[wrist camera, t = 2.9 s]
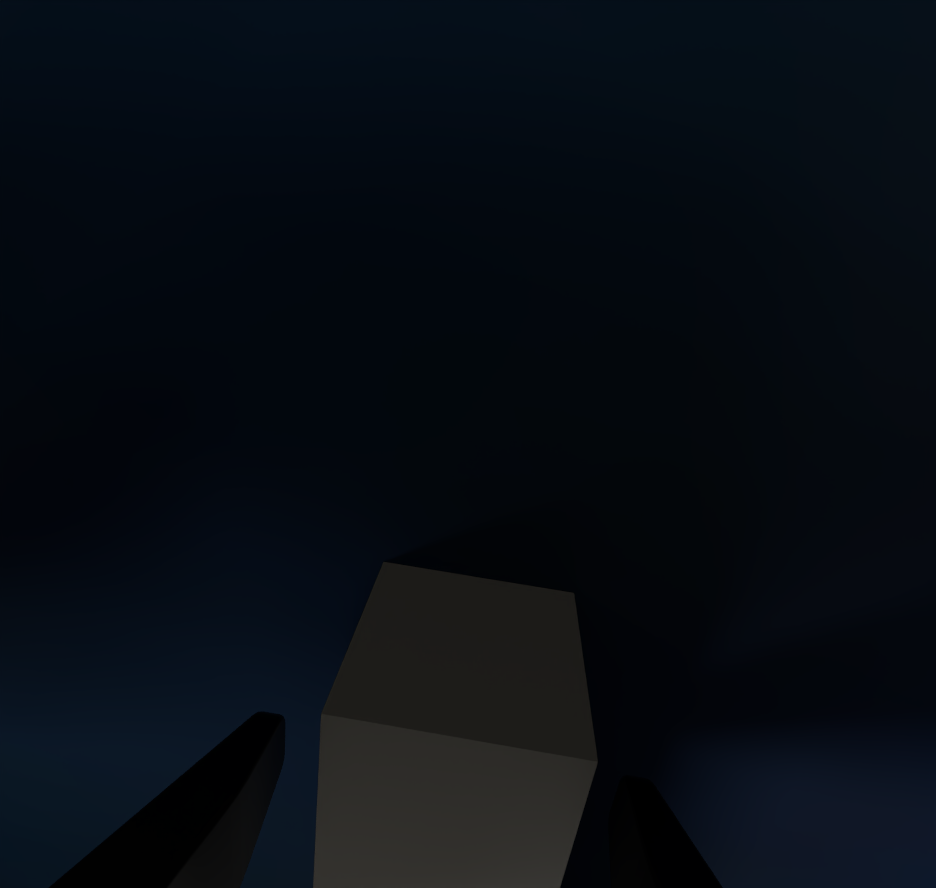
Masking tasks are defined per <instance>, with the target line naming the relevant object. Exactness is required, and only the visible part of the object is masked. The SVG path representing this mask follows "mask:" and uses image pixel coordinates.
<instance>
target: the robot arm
mask: <svg viewBox="0 0 936 888" xmlns="http://www.w3.org/2000/svg"><path fill="white" fill-rule="evenodd" d="M284 755H285V719H284V717H283V716H282V715H280V714H274V713H269V712H257V713H255V714H254V715H252V716H251V717H250V718H249V719H248V720H247V721H245V722H244V723H243V724H242V725H241V726H239V727H238V728H237V729H236V730H235V731H234V732H232V733H231V734H230V735H229V736H228V737H226V738H225V739H224V740H223V741H222V742H220V743H219V744H218V745H217V746H216V747H215V748H213V749H212V750H211V751H210V752H209V753H207V754H206V755H205V756H204V757H203V758H202V759H200V760H199V761H198V762H197V763H196V764H194V765H193V766H192V767H191V768H190V769H189V770H187V771H186V772H185V773H184V774H183V775H181V776H180V777H179V778H178V779H177V780H176V781H174V782H173V783H172V784H171V785H170V786H168V787H167V788H166V789H165V790H164V791H162V792H161V793H160V794H159V795H158V796H157V797H155V798H154V799H153V800H152V801H151V802H149V803H148V804H147V805H146V806H145V807H144V808H142V809H141V810H140V811H139V812H138V813H136V814H135V815H134V816H133V817H132V818H131V819H129V820H128V821H127V822H126V823H125V824H123V825H122V826H121V827H120V828H119V829H118V830H116V831H115V832H114V833H113V834H112V835H110V836H109V837H108V838H107V839H106V840H105V841H103V842H102V843H101V844H100V845H99V846H97V847H96V848H95V849H94V850H93V851H91V852H90V853H89V854H88V855H87V856H86V857H84V858H83V859H82V860H81V861H80V862H78V863H77V864H76V865H75V866H74V867H73V868H71V869H70V870H69V871H68V872H67V873H65V874H64V875H63V876H62V877H61V878H60V879H58V880H57V881H56V882H55V883H54V884H52V885H51V886H50V887H49V888H240V885H241V883H242V881H243V878H244V875H245V872H246V870H247V867H248V864H249V861H250V859H251V856H252V853H253V850H254V847H255V844H256V841H257V838H258V835H259V833H260V830H261V827H262V824H263V821H264V818H265V815H266V812H267V810H268V807H269V804H270V801H271V798H272V795H273V792H274V789H275V786H276V784H277V781H278V778H279V775H280V772H281V769H282V765H283V761H284ZM608 831H609V851H610V870H611V888H723V887H722V886H721V884H720V883H719V881H718V880H717V878H716V877H715V875H714V874H713V872H712V871H711V869H710V868H709V866H708V865H707V863H706V862H705V860H704V859H703V857H702V856H701V854H700V853H699V851H698V850H697V848H696V847H695V845H694V844H693V842H692V841H691V839H690V838H689V836H688V835H687V833H686V832H685V830H684V829H683V827H682V826H681V824H680V823H679V821H678V820H677V818H676V817H675V815H674V814H673V812H672V811H671V809H670V808H669V806H668V805H667V803H666V802H665V800H664V799H663V797H662V796H661V794H660V793H659V791H658V790H657V788H656V787H655V785H654V784H653V783H652V782H651V781H650V780H648V779H645V778H640V777H634V776H628V775H626V776H623V777H622V778H621V780H620V782H619V785H618V788H617V791H616V794H615V797H614V800H613V803H612V806H611V809H610V814H609V823H608Z"/></svg>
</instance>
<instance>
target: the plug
mask: <svg viewBox="0 0 936 888" xmlns="http://www.w3.org/2000/svg"><path fill="white" fill-rule="evenodd" d="M597 763H598V758H597V751H596V744H595V737H594V730H593V723H592V716H591V709H590V702H589V695H588V688H587V681H586V674H585V667H584V659H583V652H582V645H581V638H580V631H579V624H578V617H577V610H576V603H575V596H574V593H571V592H565V591H559V590H553V589H547V588H541V587H534V586H528V585H522V584H516V583H510V582H504V581H498V580H492V579H486V578H479V577H473V576H467V575H461V574H455V573H449V572H443V571H437V570H431V569H425V568H418V567H412V566H406V565H400V564H394V563H388V562H383V564H382V567H381V569H380V572H379V574H378V576H377V579H376V581H375V584H374V586H373V589H372V591H371V594H370V596H369V598H368V601H367V603H366V606H365V608H364V611H363V613H362V616H361V618H360V620H359V623H358V625H357V628H356V630H355V633H354V635H353V638H352V640H351V642H350V645H349V647H348V650H347V652H346V655H345V657H344V660H343V662H342V664H341V667H340V669H339V672H338V674H337V677H336V679H335V681H334V684H333V686H332V689H331V691H330V694H329V696H328V699H327V701H326V703H325V706H324V708H323V711H322V713H321V731H320V753H319V774H318V796H317V818H316V840H315V862H314V884H313V888H560V886H561V882H562V879H563V876H564V872H565V869H566V866H567V863H568V859H569V856H570V853H571V849H572V846H573V843H574V839H575V836H576V833H577V830H578V826H579V823H580V820H581V816H582V813H583V810H584V806H585V803H586V800H587V796H588V793H589V790H590V787H591V783H592V780H593V777H594V773H595V770H596V767H597Z"/></svg>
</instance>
